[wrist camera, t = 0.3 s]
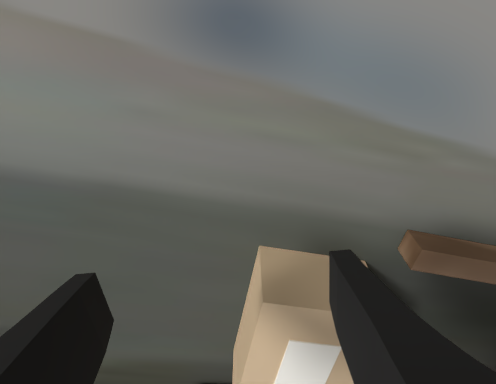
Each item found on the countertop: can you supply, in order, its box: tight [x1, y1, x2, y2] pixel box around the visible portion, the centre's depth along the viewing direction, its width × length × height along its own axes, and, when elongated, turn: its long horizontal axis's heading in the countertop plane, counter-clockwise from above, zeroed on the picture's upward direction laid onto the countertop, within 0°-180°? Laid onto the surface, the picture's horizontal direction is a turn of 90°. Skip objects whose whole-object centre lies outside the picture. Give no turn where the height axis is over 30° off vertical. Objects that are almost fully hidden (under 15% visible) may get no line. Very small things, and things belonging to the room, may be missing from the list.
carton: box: [232, 246, 368, 384], centre depth 23 cm, size 10×7×5 cm
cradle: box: [398, 230, 496, 284], centre depth 25 cm, size 16×14×2 cm
